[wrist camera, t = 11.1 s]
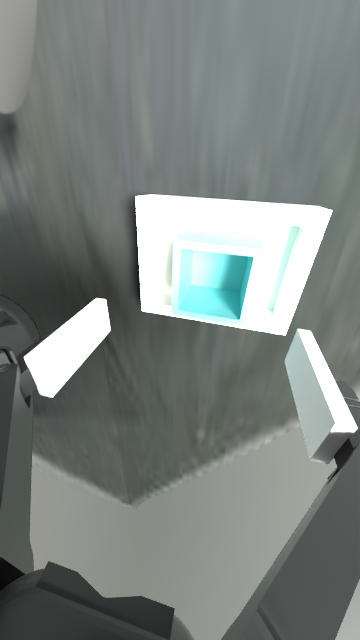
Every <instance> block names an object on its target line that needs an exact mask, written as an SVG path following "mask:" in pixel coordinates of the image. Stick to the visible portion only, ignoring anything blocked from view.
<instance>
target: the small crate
mask: <svg viewBox="0 0 360 640" xmlns="http://www.w3.org/2000/svg"><path fill="white" fill-rule="evenodd" d="M263 254H264V246H263V243H262V240H261V237H260V233H259V232H253V231H242V230H232V229H221V228H210V227H199V226H190V227H189V228H188V229H186V230H185V231H184V232H183V233H181V234H180V235H179V236H178V237H177V238H175V239H174V246H173V279H172V312H171V315H176V316H182V317H188V318H194V319H199V320H205V321H211V322H217V323H223V324H229V325H235V326H241V327H245V326H246V322H247V318H248V314H249V310H250V306H251V302H252V298H253V294H254V290H255V286H256V282H257V278H258V274H259V270H260V266H261V262H262V258H263Z"/></svg>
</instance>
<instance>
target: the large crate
mask: <svg viewBox="0 0 360 640" xmlns="http://www.w3.org/2000/svg"><path fill="white" fill-rule="evenodd" d="M135 198H136V217H137V236H138V254H139V273H140V291H141V310H142V311H145V312H150V313H156V314H162V315H168V316H174V317H180V318H186V319H192V320H198V321H204V322H210V323H215V324H221V325H227V326H233V327H239V328H245V329H251V330H257V331H263V332H269V333H275V334H280V335H286V332H287V330H288V327H289V325H290V322H291V319H292V317H293V314H294V311H295V309H296V306H297V303H298V301H299V298H300V295H301V293H302V290H303V287H304V285H305V282H306V279H307V277H308V274H309V271H310V269H311V266H312V263H313V261H314V258H315V255H316V253H317V250H318V247H319V245H320V242H321V239H322V237H323V234H324V231H325V229H326V226H327V223H328V221H329V218H330V215H331V213H332V210H329V209H326V208H323V207H320V206H312V205H298V204H283V203H269V202H255V201H241V200H226V199H212V198H198V197H184V196H169V195H155V194H148V195H140V196H135ZM190 226H199V227H210V228H221V229H232V230H242V231H253V232H259V233H260V237H261V240H262V243H263V246H264V254H263V258H262V262H261V266H260V270H259V274H258V278H257V282H256V286H255V290H254V294H253V298H252V302H251V306H250V310H249V314H248V318H247V322H246V326H245V327H241V326H235V325H229V324H223V323H217V322H211V321H205V320H199V319H194V318H188V317H182V316H176V315H171V312H172V279H173V246H174V239H175V238H177V237H178V236H179V235H180V234H181V233H183V232H184V231H185V230H186V229H188V228H189V227H190Z"/></svg>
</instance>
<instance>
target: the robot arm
mask: <svg viewBox="0 0 360 640" xmlns="http://www.w3.org/2000/svg"><path fill="white" fill-rule="evenodd" d="M110 331H111V330H110V323H109V316H108V309H107V302H106V299H100V298H96V299H94V300H93V301H92V302H91V303H90V304H88V305H87V306H86V307H85V308H83V309H82V310H81V311H80V312H78V313H77V314H76V315H75V316H74V317H72V318H71V319H70V320H69V321H67V322H66V323H65V324H64V325H62V326H61V327H60V328H59V329H58V330H56V329H54V330H52V331H50V332H48V333H46V334H44V335H43V336H42V337H41V338H40V337H39V333H38V330H37V328H36V326H35V324H34V323H33V321H32V320H31V318H30V317H29V316H28V315H27V313H26V312H25V311H24V310H23V309H22V308H20V307H19V306H18V305H17V304H15V303H14V302H13V301H11V300H9V299H8V298H6V297H4V296H1V295H0V640H195V639H194V638H193V636H192V635H191V633H190V632H189V630H188V629H187V628H186V626H185V625H184V624H183V623H182V621H180V620H179V619H178V618H177V617H176V616H175V615H174V608H172V607H169V606H166V605H164V604H161V603H158V602H156V601H153V600H151V599H148V598H145V597H142V596H133V597H116V598H104V597H102V596H101V595H100V594H99V593H98V592H97V591H96V590H95V589H94V588H93V587H92V586H91V585H90V584H89V583H88V582H87V581H86V580H85V579H84V578H83V577H82V576H81V575H80V574H79V573H78V572H76V571H73V570H71V569H68V568H65V567H63V566H60V565H57V564H55V563H52V562H48V563H47V565H46V567H45V569H40V570H36V571H34V566H33V565H34V564H33V553H32V549H31V545H30V535H29V533H30V500H31V498H30V497H31V467H32V434H33V401H34V397H33V394H32V392H33V391H34V390H35V389H36V388H37V389H38V391H39V394H40V395H43V396H47V397H51V398H53V397H54V395H55V394H56V393H57V392H58V391H59V390H60V388H61V387H62V386H63V385H64V384H65V383H66V382H67V380H68V379H69V378H70V377H71V376H72V375H73V373H74V372H75V371H76V370H77V369H78V368H79V366H80V365H81V364H82V363H83V362H84V361H85V360H86V358H87V357H88V356H89V355H90V354H91V353H92V351H93V350H94V349H95V348H96V347H97V346H98V344H99V343H100V342H101V341H102V340H103V339H104V338H105V336H106V335H107V334H108V333H109V332H110ZM285 365H286V369H287V373H288V377H289V381H290V385H291V389H292V392H293V396H294V400H295V404H296V408H297V412H298V416H299V420H300V424H301V427H302V431H303V435H304V439H305V443H306V447H307V451H308V455H309V459H310V460H313V461H317V462H321V463H325V464H329V463H330V461H331V460H332V459H333V458H334V459H335V462H336V464H337V468H336V469H335V470H334V471H333V473H332V474H331V475H330V476H329V477H328V481H327V482H326V484H325V486H324V487H323V489H322V490H321V492H320V493H319V495H318V496H317V498H316V499H315V501H314V502H313V504H312V505H311V507H310V508H309V510H308V511H307V513H306V514H305V516H304V518H303V519H302V521H301V522H300V524H299V525H298V527H297V528H296V530H295V531H294V533H293V534H292V536H291V537H290V539H289V540H288V542H287V543H286V545H285V546H284V548H283V549H282V551H281V552H280V554H279V555H278V557H277V558H276V560H275V561H274V563H273V565H272V566H271V568H270V569H269V571H268V572H267V574H266V575H265V577H264V578H263V580H262V581H261V583H260V584H259V586H258V587H257V589H256V590H255V592H254V593H253V595H252V596H251V598H250V600H249V601H248V603H247V604H246V606H245V607H244V609H243V610H242V612H241V613H240V615H239V616H238V617H237V619H236V620H235V621H234V623H233V624H232V625H231V626H230V628H229V629H228V630H227V632H226V633H225V635H224V636H223V638H222V639H221V640H335V638H336V636H337V633H338V631H339V628H340V625H341V623H342V621H343V618H344V616H345V613H346V610H347V608H348V606H349V603H350V601H351V598H352V596H353V594H354V591H355V589H356V586H357V584H358V581H359V579H360V402H359V400H358V398H357V396H356V394H355V392H354V391H353V390H352V389H351V388H350V387H349V386H348V385H347V384H346V383H345V382H342V381H336V380H334V378H333V376H332V374H331V372H330V370H329V368H328V366H327V364H326V362H325V360H324V358H323V355H322V353H321V351H320V349H319V347H318V345H317V343H316V341H315V339H314V337H313V335H312V333H311V331H309V330H302V329H297V331H296V334H295V336H294V339H293V341H292V344H291V346H290V349H289V351H288V354H287V356H286V359H285Z"/></svg>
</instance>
